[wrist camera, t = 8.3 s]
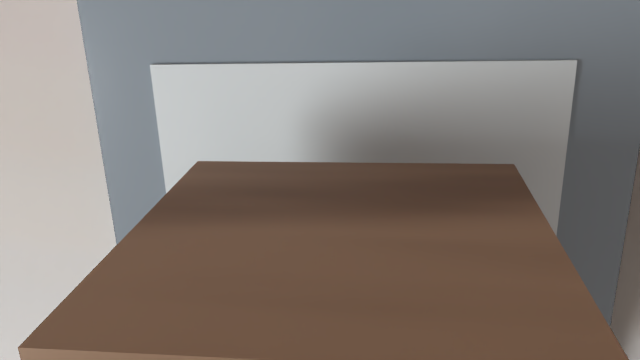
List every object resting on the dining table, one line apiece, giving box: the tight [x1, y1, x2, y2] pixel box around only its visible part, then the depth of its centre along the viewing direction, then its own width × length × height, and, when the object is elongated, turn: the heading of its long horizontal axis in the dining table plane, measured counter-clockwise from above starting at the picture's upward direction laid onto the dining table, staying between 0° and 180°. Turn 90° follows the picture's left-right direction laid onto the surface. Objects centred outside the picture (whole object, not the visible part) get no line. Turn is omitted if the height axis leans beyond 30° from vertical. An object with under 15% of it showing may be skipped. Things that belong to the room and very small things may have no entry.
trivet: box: [77, 0, 640, 327], centre depth 15 cm, size 12×12×1 cm
